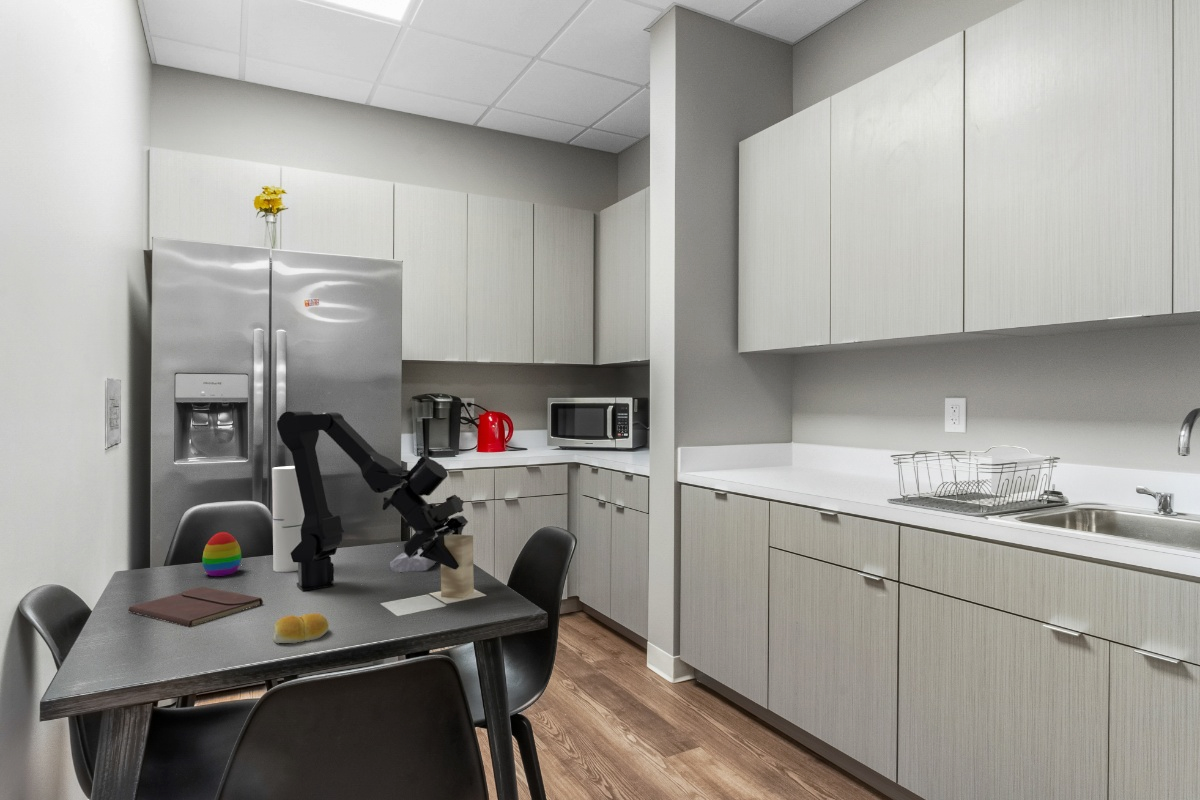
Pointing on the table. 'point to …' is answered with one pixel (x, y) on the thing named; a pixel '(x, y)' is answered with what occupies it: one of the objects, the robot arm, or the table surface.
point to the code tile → (450, 600)
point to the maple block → (462, 578)
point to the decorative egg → (221, 555)
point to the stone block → (411, 563)
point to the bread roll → (300, 628)
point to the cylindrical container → (286, 517)
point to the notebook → (196, 606)
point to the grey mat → (412, 605)
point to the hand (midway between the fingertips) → (463, 564)
